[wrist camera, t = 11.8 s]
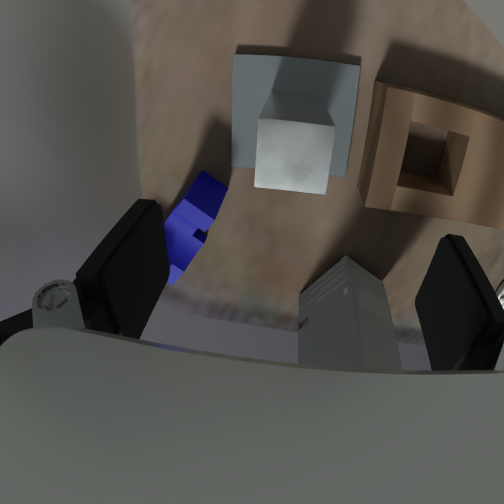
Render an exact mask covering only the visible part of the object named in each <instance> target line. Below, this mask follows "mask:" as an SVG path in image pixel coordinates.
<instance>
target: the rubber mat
mask: <svg viewBox="0 0 504 504" xmlns="http://www.w3.org/2000/svg"><path fill="white" fill-rule="evenodd" d="M359 74H360V66H358V65H352V64H346V63H339V62H332V61H325V60H317V59H308V58H299V57H287V56H273V55H253V54H233V84H232V148H231V167H244V168H256V150H257V133H258V118H259V116H260V114H261V111H262V109H263V107H264V105H265V103H266V101H267V99H268V97H269V95H270V93H271V91H276V92H287V93H297V94H305V95H314V96H321V97H322V99H323V101H324V103H325V105H326V107H327V109H328V111H329V113H330V115H331V117H332V120H333V122H334V124H335V126H336V130H335V137H334V144H333V150H332V157H331V163H330V169H329V175H328V176H335V177H343V178H345V172H346V167H347V161H348V154H349V148H350V142H351V135H352V128H353V121H354V114H355V107H356V99H357V91H358V82H359Z"/></svg>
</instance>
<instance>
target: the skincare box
mask: <svg viewBox="0 0 504 504" xmlns="http://www.w3.org/2000/svg"><path fill="white" fill-rule="evenodd" d="M298 364H307V365H318V366H330V367H344V368H361V369H381V370H402V366H401V361H400V356H399V350H398V345H397V340H396V336H395V331H394V326H393V322H392V317H391V313H390V308H389V304H388V300H387V296H386V292H385V288H384V284H383V282H382V281H381V280H379V279H378V278H377V277H375V276H374V275H372V274H371V273H370V272H368V271H367V270H365V269H364V268H362V267H361V266H360V265H358V264H357V263H355V262H354V261H353V260H351V259H350V258H349V257H348V256H346V255H345V256H344V257H343V258H342V259H341V260H340V261H339V262H338V263H337V264H335V265H334V266H333V267H332V268H330V269H329V270H328V271H327V272H325V273H324V274H323V275H322V276H321V277H320V278H318V279H317V280H316V281H315V282H314V283H313V284H311V285H310V286H309V287H308V288H307V289H306V290H305V291H304V292H303V293H302V294H300V296H299V339H298Z"/></svg>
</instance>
